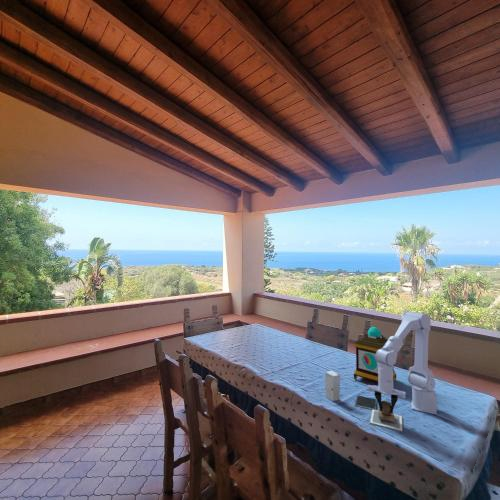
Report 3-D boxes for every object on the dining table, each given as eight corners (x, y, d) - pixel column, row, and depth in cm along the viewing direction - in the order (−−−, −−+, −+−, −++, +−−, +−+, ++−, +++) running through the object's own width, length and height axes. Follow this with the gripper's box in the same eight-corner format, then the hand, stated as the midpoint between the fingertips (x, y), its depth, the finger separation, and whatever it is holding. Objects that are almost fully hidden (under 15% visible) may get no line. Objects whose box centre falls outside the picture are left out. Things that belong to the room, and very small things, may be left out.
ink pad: (376, 401, 134) (376, 399, 134) (375, 410, 126) (375, 407, 126) (357, 397, 138) (357, 394, 138) (354, 405, 130) (354, 402, 130)
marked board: (402, 417, 121) (402, 415, 121) (402, 432, 110) (402, 430, 110) (372, 410, 126) (372, 409, 126) (369, 423, 116) (369, 422, 116)
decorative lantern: (400, 380, 158) (399, 327, 160) (387, 391, 145) (386, 333, 146) (365, 370, 173) (364, 321, 174) (350, 379, 159) (349, 326, 160)
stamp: (393, 415, 120) (393, 400, 120) (395, 422, 115) (394, 407, 115) (378, 412, 122) (378, 398, 123) (378, 419, 117) (378, 404, 117)
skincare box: (324, 396, 139) (324, 371, 140) (332, 394, 141) (331, 370, 142) (333, 401, 134) (333, 376, 134) (340, 400, 136) (340, 374, 136)
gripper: (366, 378, 119) (366, 411, 118) (405, 385, 112) (406, 420, 112) (368, 372, 125) (368, 403, 125) (405, 379, 118) (405, 412, 118)
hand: (386, 411), depth 118 cm, fingers closed on stamp, 3 cm apart
